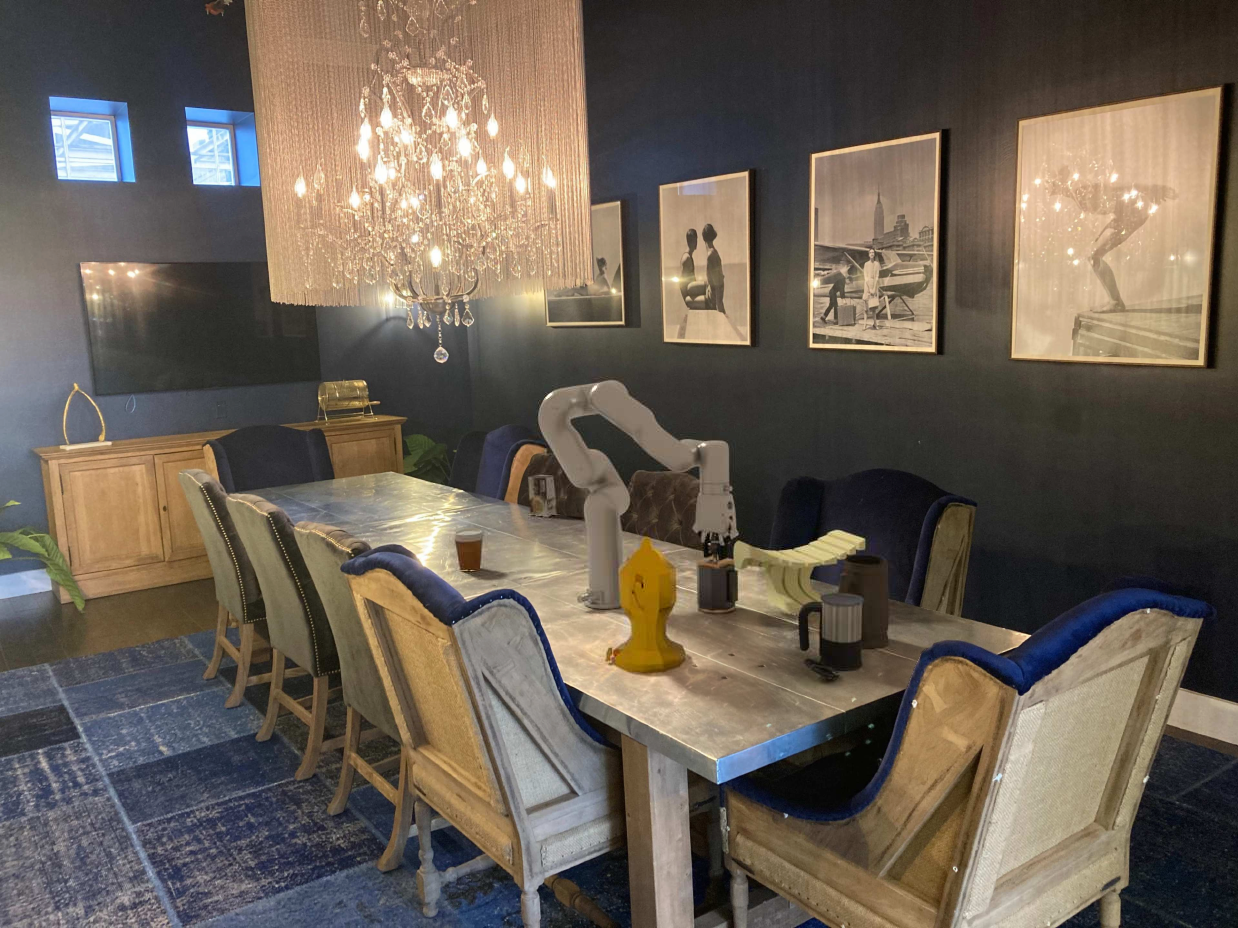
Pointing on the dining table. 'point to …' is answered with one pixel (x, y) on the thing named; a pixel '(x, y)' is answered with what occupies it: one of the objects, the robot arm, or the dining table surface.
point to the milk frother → (834, 633)
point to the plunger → (713, 549)
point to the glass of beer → (469, 548)
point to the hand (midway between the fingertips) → (715, 557)
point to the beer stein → (869, 595)
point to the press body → (716, 586)
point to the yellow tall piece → (647, 612)
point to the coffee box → (542, 495)
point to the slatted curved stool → (796, 567)
